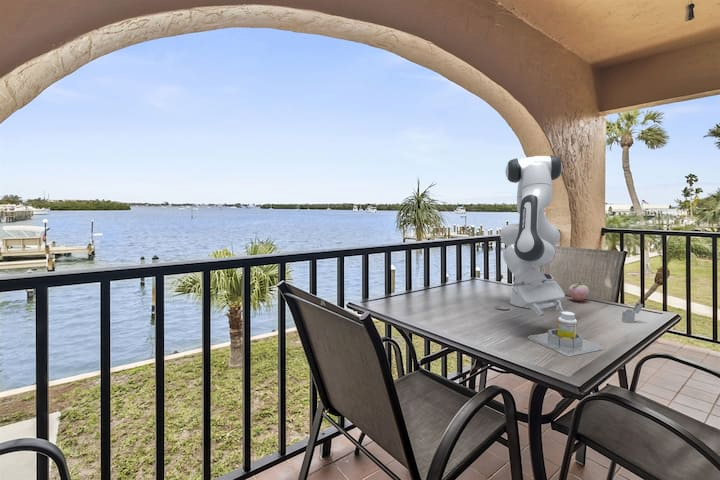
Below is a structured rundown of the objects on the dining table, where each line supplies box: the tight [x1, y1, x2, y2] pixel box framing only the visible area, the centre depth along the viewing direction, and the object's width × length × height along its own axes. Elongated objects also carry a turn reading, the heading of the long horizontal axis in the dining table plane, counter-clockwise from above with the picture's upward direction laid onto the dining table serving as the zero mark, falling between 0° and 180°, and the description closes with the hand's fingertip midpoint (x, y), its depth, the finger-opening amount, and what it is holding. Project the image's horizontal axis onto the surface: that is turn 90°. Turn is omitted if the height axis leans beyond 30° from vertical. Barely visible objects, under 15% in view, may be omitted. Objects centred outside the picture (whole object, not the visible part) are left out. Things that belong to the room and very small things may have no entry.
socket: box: [527, 328, 604, 358], centre depth 121 cm, size 16×16×4 cm
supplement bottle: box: [557, 310, 578, 339], centre depth 120 cm, size 6×6×10 cm
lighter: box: [621, 302, 644, 324], centre depth 144 cm, size 7×2×8 cm, turn 91°
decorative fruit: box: [568, 281, 590, 302], centre depth 175 cm, size 9×8×10 cm
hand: (551, 313), depth 127 cm, fingers open, 8 cm apart
